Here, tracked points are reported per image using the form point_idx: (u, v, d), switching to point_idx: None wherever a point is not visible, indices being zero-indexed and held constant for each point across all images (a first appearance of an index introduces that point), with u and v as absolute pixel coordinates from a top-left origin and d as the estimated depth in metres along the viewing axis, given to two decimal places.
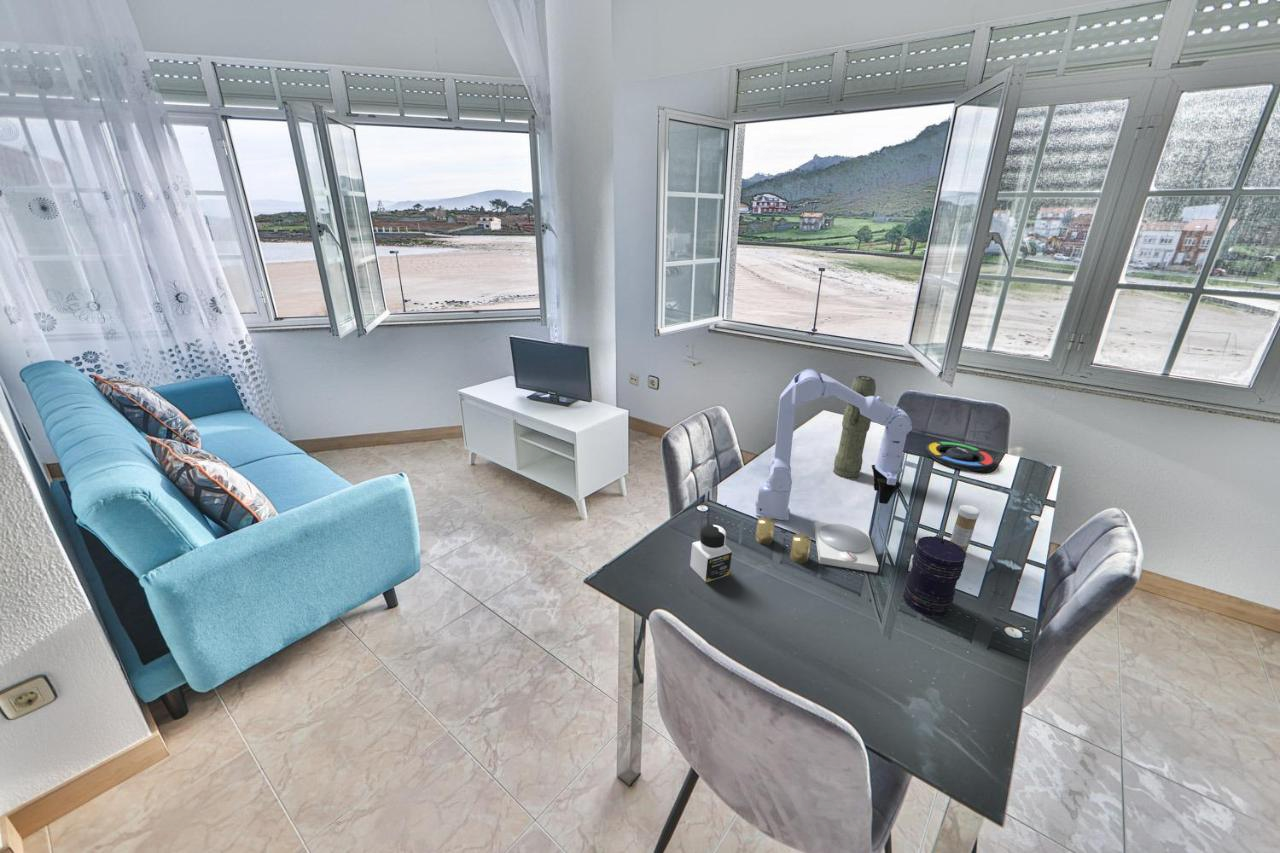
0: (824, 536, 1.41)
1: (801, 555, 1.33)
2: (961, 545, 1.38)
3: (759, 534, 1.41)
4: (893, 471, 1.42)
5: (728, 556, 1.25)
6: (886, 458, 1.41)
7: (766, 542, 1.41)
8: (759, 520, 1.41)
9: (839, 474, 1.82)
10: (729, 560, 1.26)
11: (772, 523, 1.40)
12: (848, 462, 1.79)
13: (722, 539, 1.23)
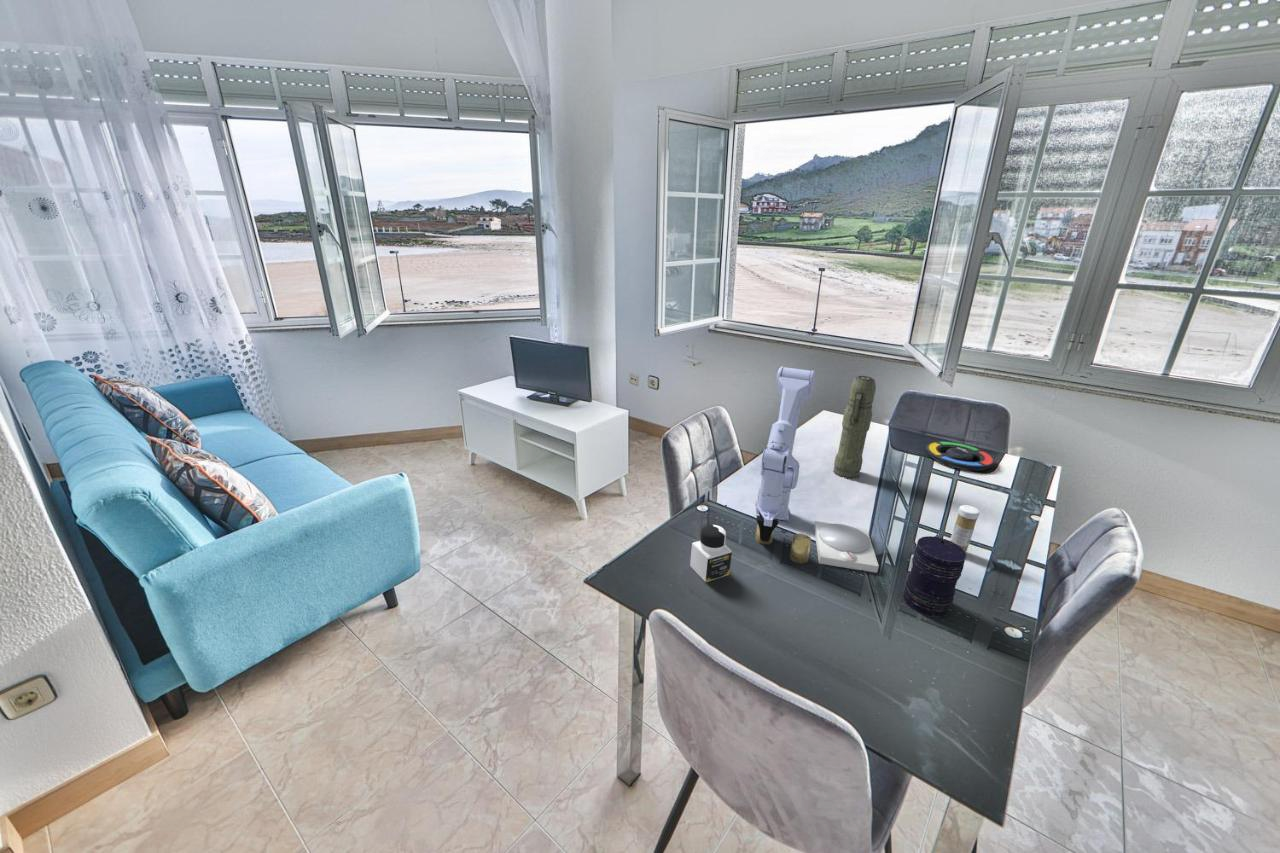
0: (824, 536, 1.41)
1: (801, 555, 1.33)
2: (961, 545, 1.38)
3: (759, 534, 1.41)
4: (772, 511, 1.37)
5: (728, 556, 1.25)
6: (764, 498, 1.36)
7: (766, 542, 1.41)
8: None
9: (839, 474, 1.82)
10: (729, 560, 1.26)
11: None
12: (848, 462, 1.79)
13: (722, 539, 1.23)
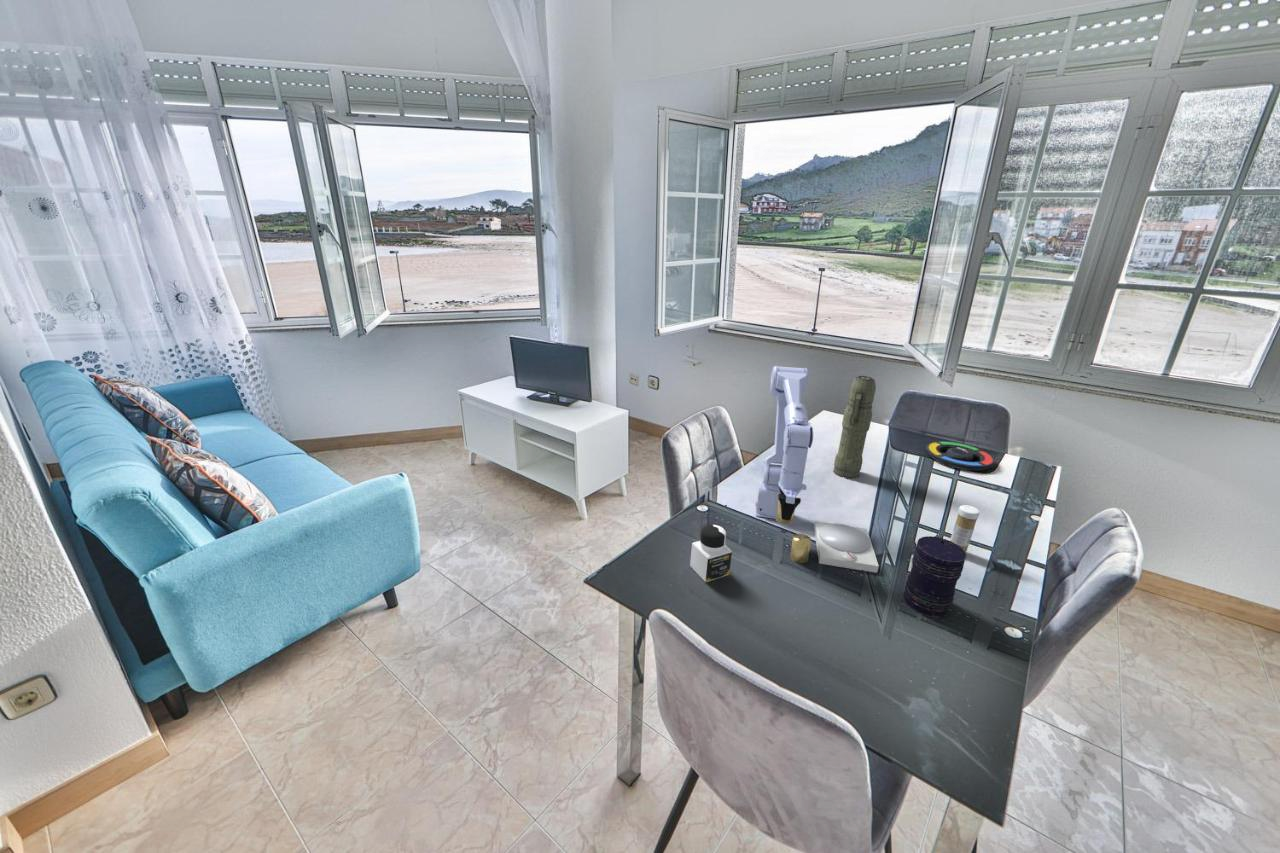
0: (824, 536, 1.41)
1: (801, 555, 1.33)
2: (961, 545, 1.38)
3: (779, 513, 1.38)
4: (795, 488, 1.34)
5: (728, 556, 1.25)
6: (786, 475, 1.33)
7: (787, 521, 1.38)
8: None
9: (839, 474, 1.82)
10: (729, 560, 1.26)
11: None
12: (848, 462, 1.79)
13: (722, 539, 1.23)
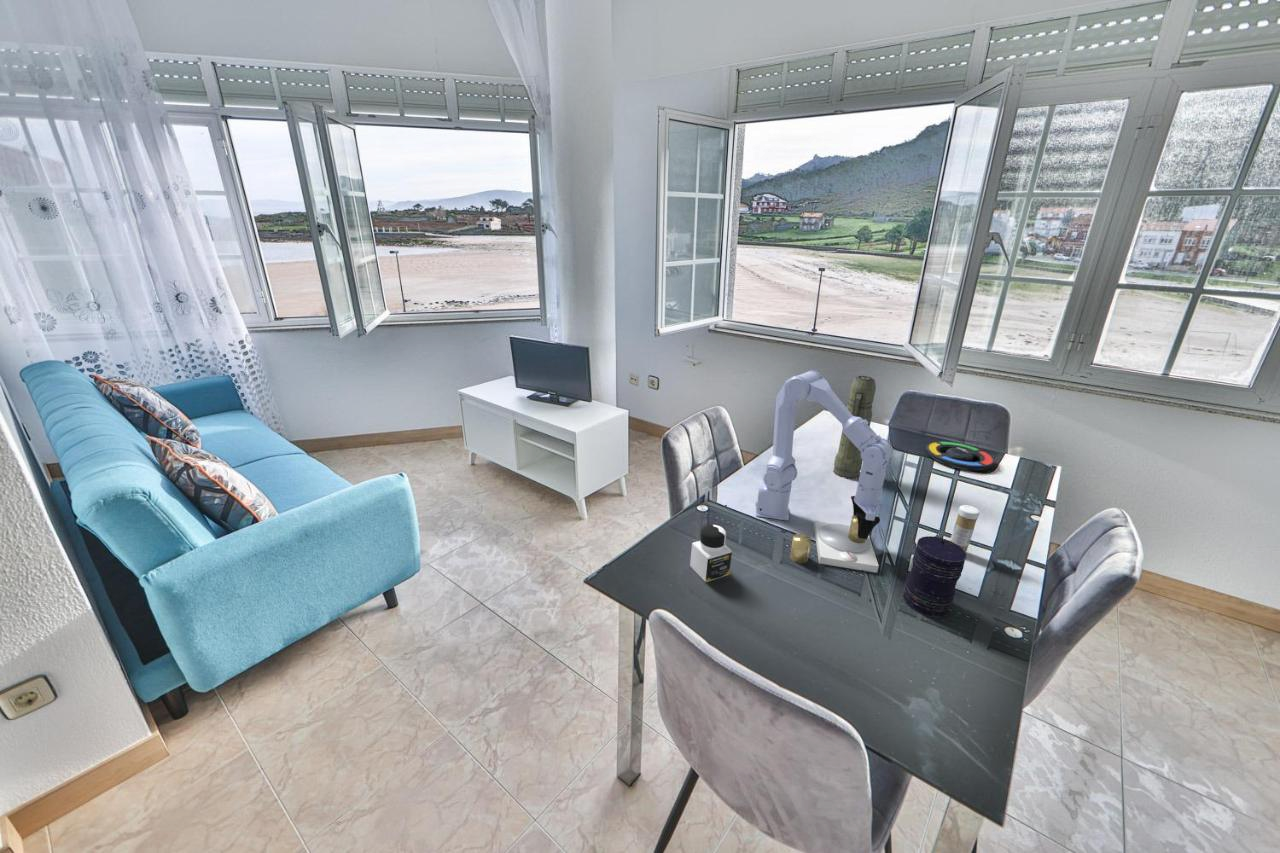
0: (824, 536, 1.41)
1: (801, 555, 1.33)
2: (961, 545, 1.38)
3: (853, 533, 1.38)
4: (872, 505, 1.33)
5: (728, 556, 1.25)
6: (865, 492, 1.33)
7: (861, 540, 1.38)
8: (853, 518, 1.38)
9: (839, 474, 1.82)
10: (729, 560, 1.26)
11: None
12: (848, 462, 1.79)
13: (722, 539, 1.23)
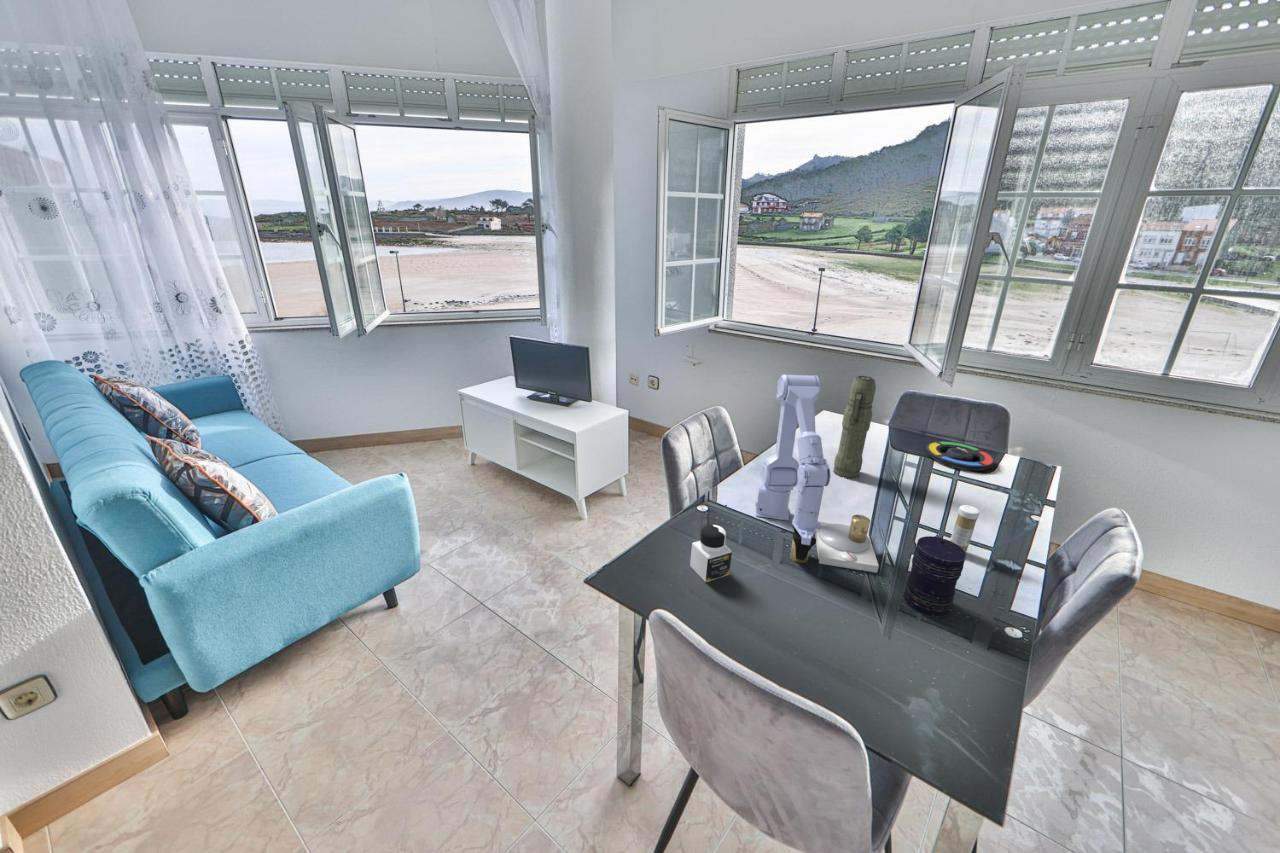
0: (824, 536, 1.41)
1: None
2: (961, 545, 1.38)
3: (853, 533, 1.38)
4: (810, 528, 1.29)
5: (728, 556, 1.25)
6: (801, 515, 1.29)
7: (861, 540, 1.38)
8: (854, 518, 1.38)
9: (839, 474, 1.82)
10: (729, 560, 1.26)
11: (868, 521, 1.37)
12: (848, 462, 1.79)
13: (722, 539, 1.23)
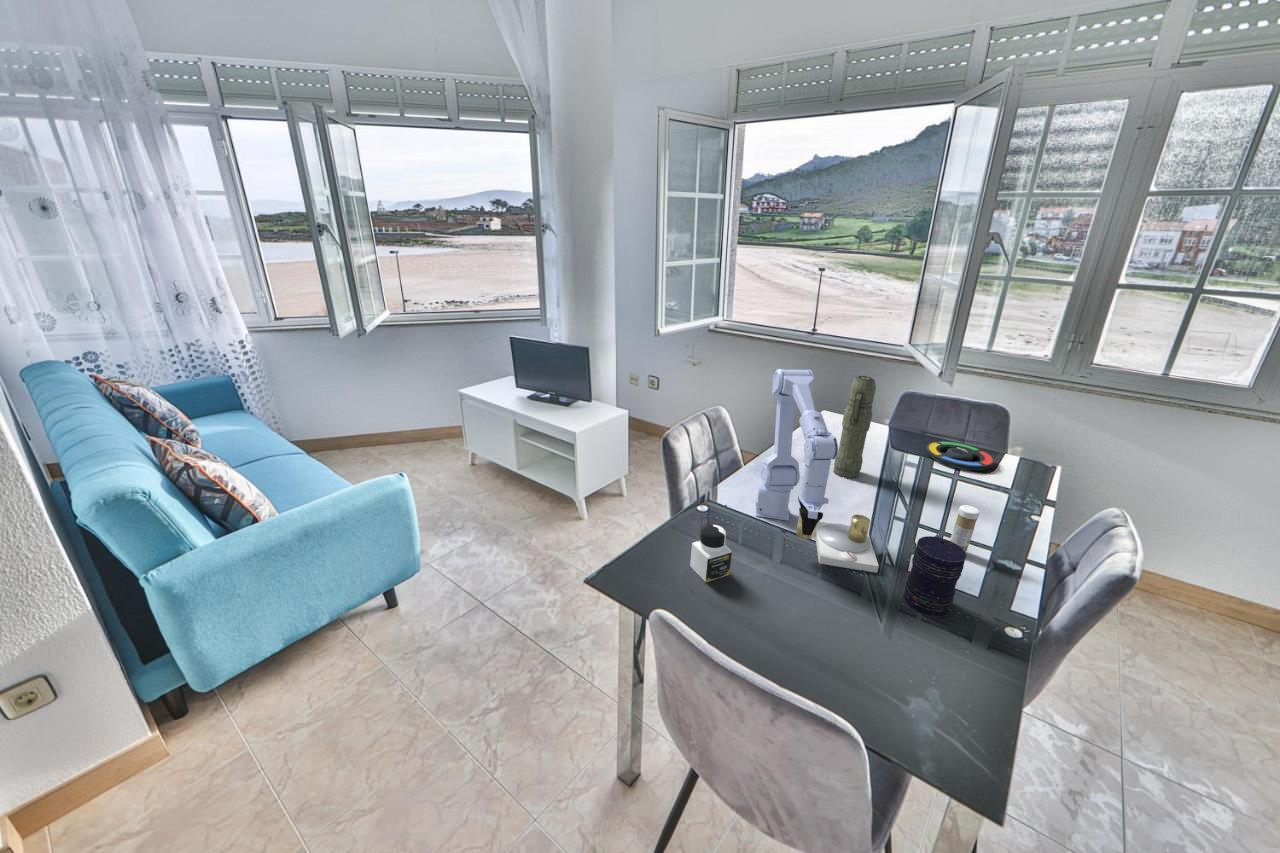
0: (824, 536, 1.41)
1: None
2: (961, 545, 1.38)
3: (853, 533, 1.38)
4: (817, 502, 1.27)
5: (728, 556, 1.25)
6: (808, 489, 1.27)
7: (861, 540, 1.38)
8: (854, 518, 1.38)
9: (839, 474, 1.82)
10: (729, 560, 1.26)
11: (868, 521, 1.37)
12: (848, 462, 1.79)
13: (722, 539, 1.23)
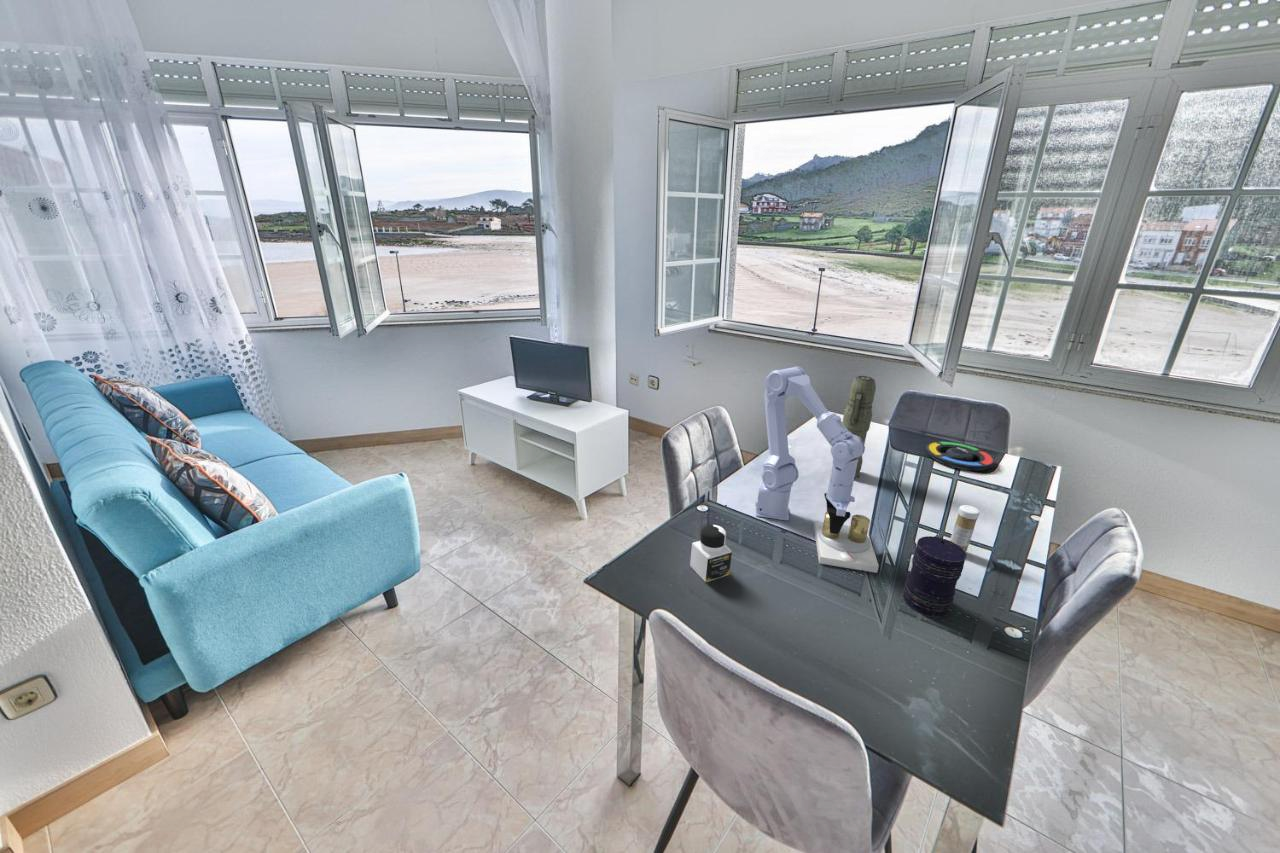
0: (824, 536, 1.41)
1: None
2: (961, 545, 1.38)
3: (853, 533, 1.38)
4: (844, 501, 1.35)
5: (728, 556, 1.25)
6: (836, 488, 1.34)
7: (861, 540, 1.38)
8: (853, 518, 1.38)
9: None
10: (729, 560, 1.26)
11: (868, 521, 1.37)
12: None
13: (722, 539, 1.23)
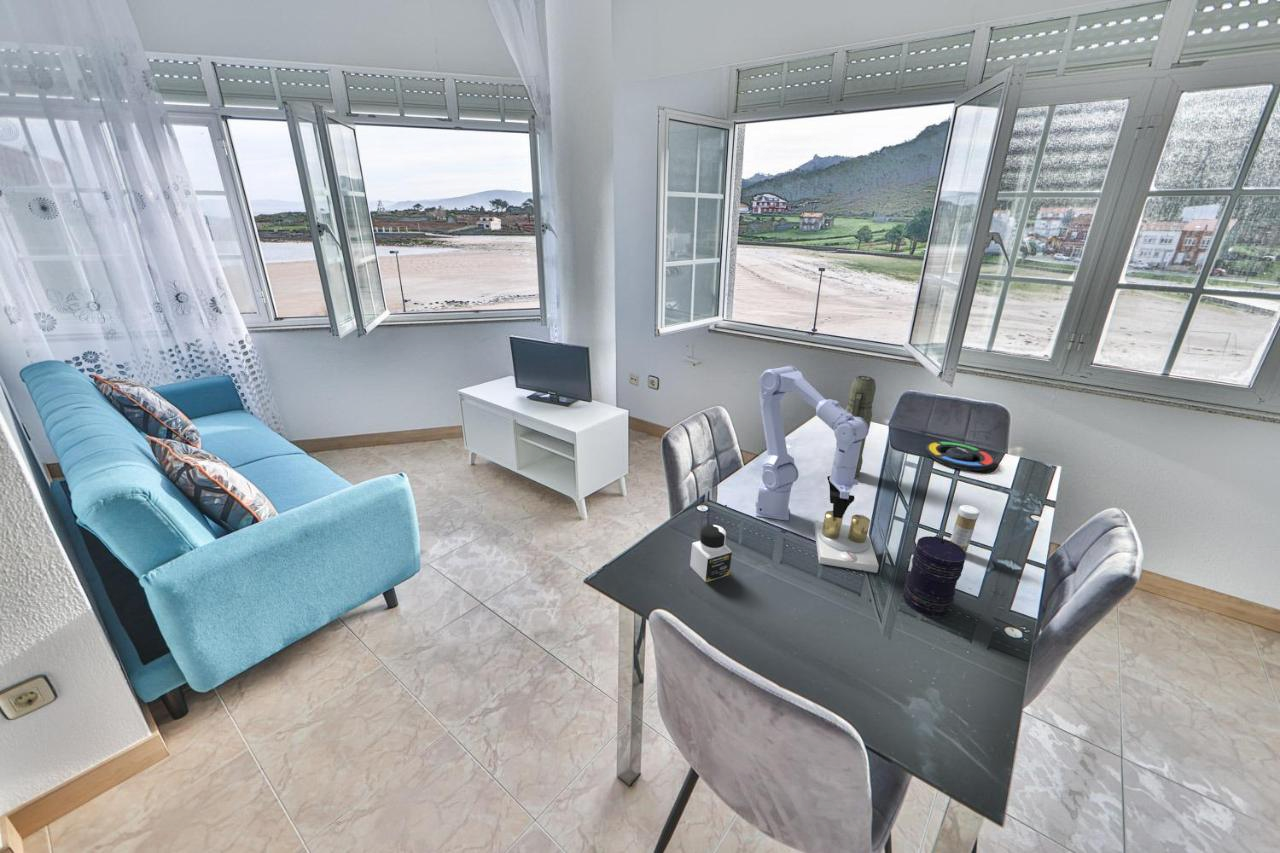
0: (824, 536, 1.41)
1: (834, 530, 1.39)
2: (961, 545, 1.38)
3: (853, 533, 1.38)
4: (847, 484, 1.33)
5: (728, 556, 1.25)
6: (839, 470, 1.33)
7: (861, 540, 1.38)
8: (853, 518, 1.38)
9: None
10: (729, 560, 1.26)
11: (868, 521, 1.37)
12: None
13: (722, 539, 1.23)
